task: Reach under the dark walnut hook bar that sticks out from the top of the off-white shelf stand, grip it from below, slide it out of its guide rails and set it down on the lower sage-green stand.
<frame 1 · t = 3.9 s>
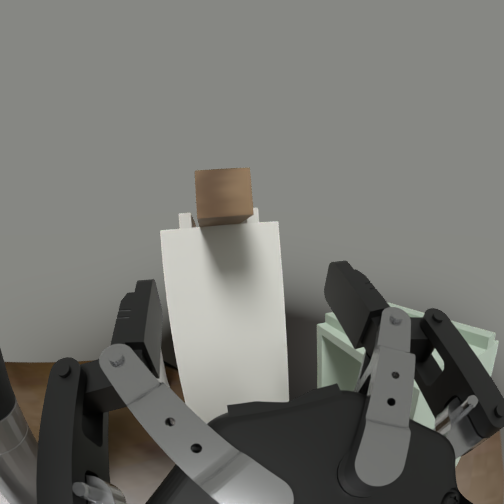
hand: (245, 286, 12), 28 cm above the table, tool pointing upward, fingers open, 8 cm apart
rest stand: (372, 482, 21), on the table
hook bar: (217, 228, 31), point 32 cm above the table, touching shelf stand
shelf stand: (240, 438, 35), on the table
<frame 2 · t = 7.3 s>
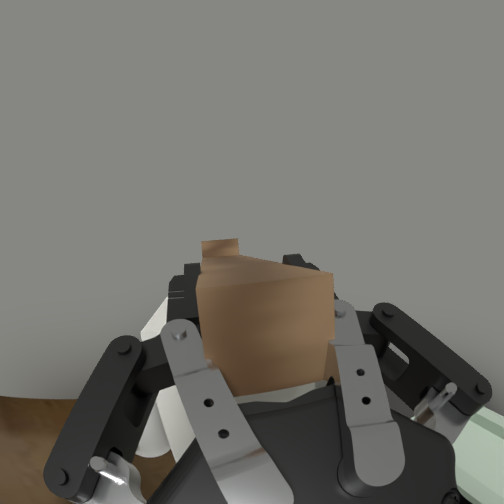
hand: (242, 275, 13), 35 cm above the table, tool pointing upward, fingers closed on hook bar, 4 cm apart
hook bar: (234, 309, 19), point 32 cm above the table, touching gripper, shelf stand
mug: (147, 449, 38), on the table
when the fingers open (26 cm above the table, at t = 14.5 s): hook bar drops 2 cm, resting on rest stand.
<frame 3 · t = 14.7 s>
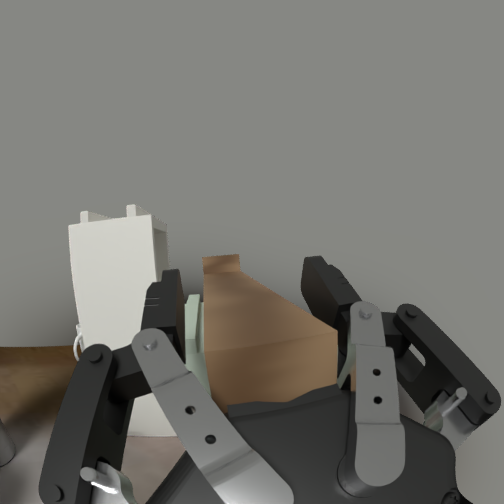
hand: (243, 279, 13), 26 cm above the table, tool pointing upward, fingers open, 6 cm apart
rest stand: (250, 472, 25), on the table
hook bar: (236, 332, 19), point 21 cm above the table, touching rest stand
mug: (97, 372, 53), on the table
shelf stand: (154, 413, 38), on the table
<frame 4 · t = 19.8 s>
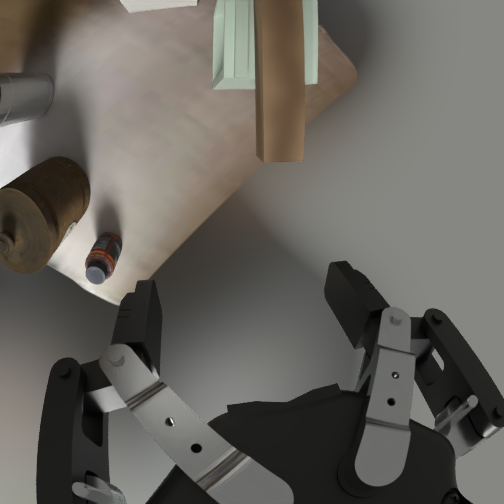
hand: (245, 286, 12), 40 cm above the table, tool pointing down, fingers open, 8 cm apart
rest stand: (241, 48, 37), on the table
supplement bottle: (109, 243, 52), on the table
hook bar: (273, 49, 22), point 21 cm above the table, touching rest stand
wooden container: (60, 191, 43), on the table
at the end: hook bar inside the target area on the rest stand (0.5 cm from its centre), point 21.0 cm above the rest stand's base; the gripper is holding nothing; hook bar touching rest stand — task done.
